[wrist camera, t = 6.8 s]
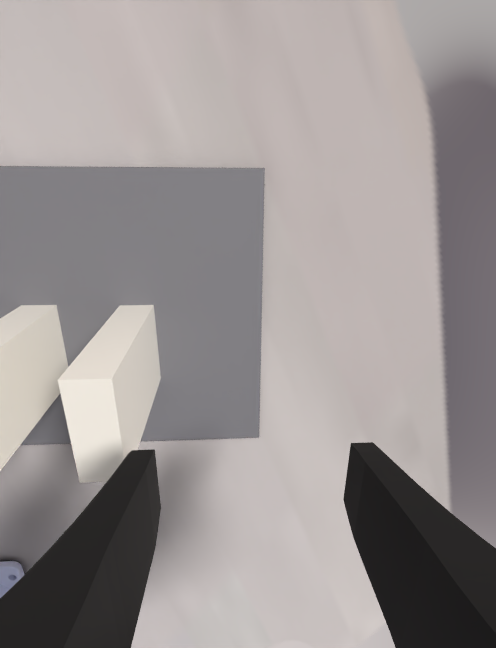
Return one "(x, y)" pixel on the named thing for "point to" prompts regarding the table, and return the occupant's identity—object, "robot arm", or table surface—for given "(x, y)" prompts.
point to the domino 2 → (111, 391)
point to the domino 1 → (28, 371)
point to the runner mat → (147, 280)
